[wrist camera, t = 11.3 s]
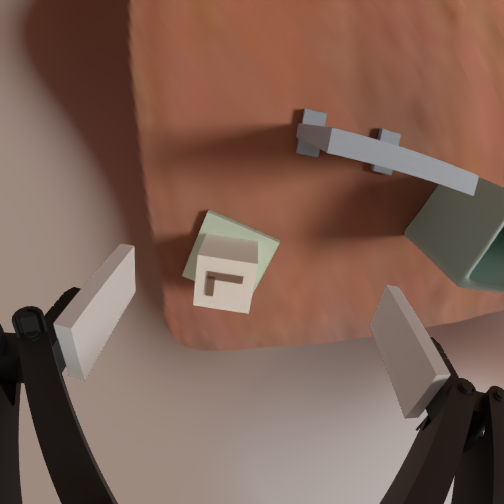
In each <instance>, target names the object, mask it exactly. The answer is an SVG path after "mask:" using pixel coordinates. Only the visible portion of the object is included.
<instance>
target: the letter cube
mask: <svg viewBox="0 0 504 504" xmlns="http://www.w3.org/2000/svg"><path fill="white" fill-rule="evenodd" d="M257 267H258V241H254V240H248V239H242V238H235V237H229V236H222V235H216V234H209V233H206V236H205V238H204V241H203V243H202V245H201V248H200V250H199V253H198V257H197V268H196V279H195V290H194V302H193V305H196V306H203V307H209V308H215V309H221V310H228V311H235V312H241V313H248V314H249V309H250V304H251V298H252V293H253V288H254V283H255V278H256V273H257Z"/></svg>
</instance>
